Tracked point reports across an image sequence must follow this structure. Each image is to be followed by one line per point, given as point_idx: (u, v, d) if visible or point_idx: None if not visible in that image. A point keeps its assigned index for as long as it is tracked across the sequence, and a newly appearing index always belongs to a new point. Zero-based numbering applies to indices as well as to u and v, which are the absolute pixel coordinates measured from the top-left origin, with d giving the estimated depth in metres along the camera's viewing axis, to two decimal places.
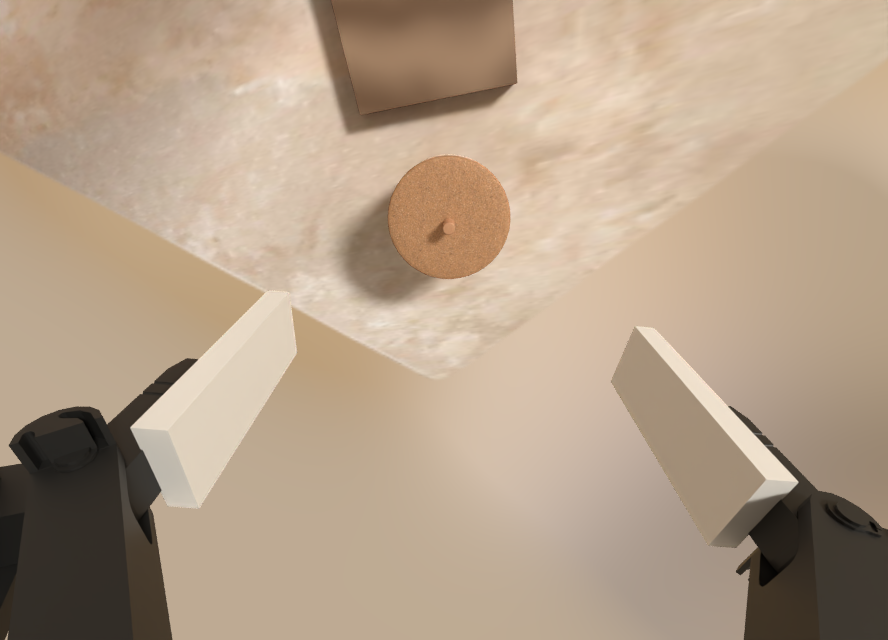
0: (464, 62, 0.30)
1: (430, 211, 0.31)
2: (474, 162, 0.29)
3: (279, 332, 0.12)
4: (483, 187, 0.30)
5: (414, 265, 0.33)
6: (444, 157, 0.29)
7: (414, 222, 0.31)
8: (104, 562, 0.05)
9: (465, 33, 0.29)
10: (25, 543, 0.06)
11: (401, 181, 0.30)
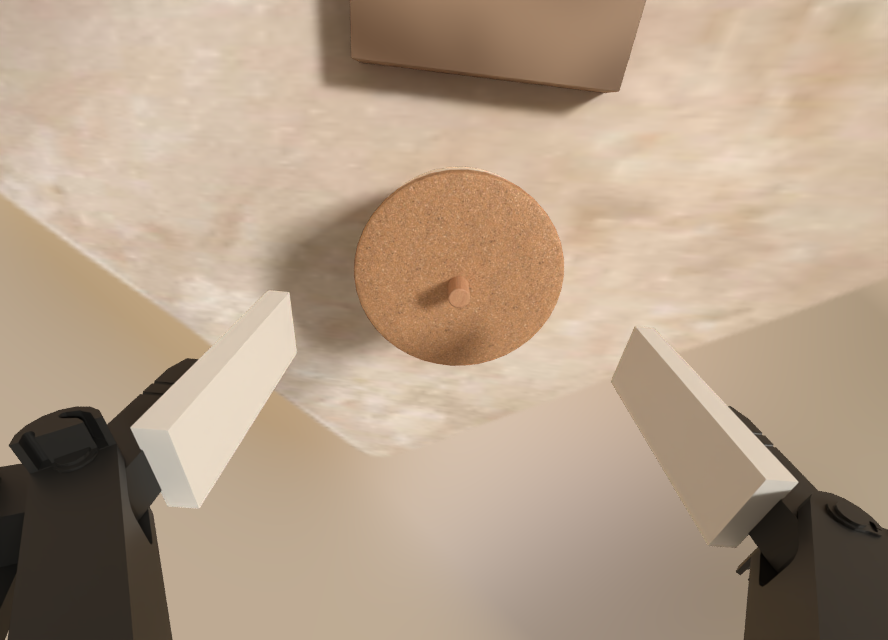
0: (550, 27, 0.18)
1: (433, 257, 0.17)
2: (532, 199, 0.16)
3: (279, 332, 0.12)
4: (533, 244, 0.17)
5: (383, 332, 0.20)
6: (484, 176, 0.16)
7: (400, 267, 0.18)
8: (103, 562, 0.05)
9: None
10: (25, 543, 0.06)
11: (397, 194, 0.16)
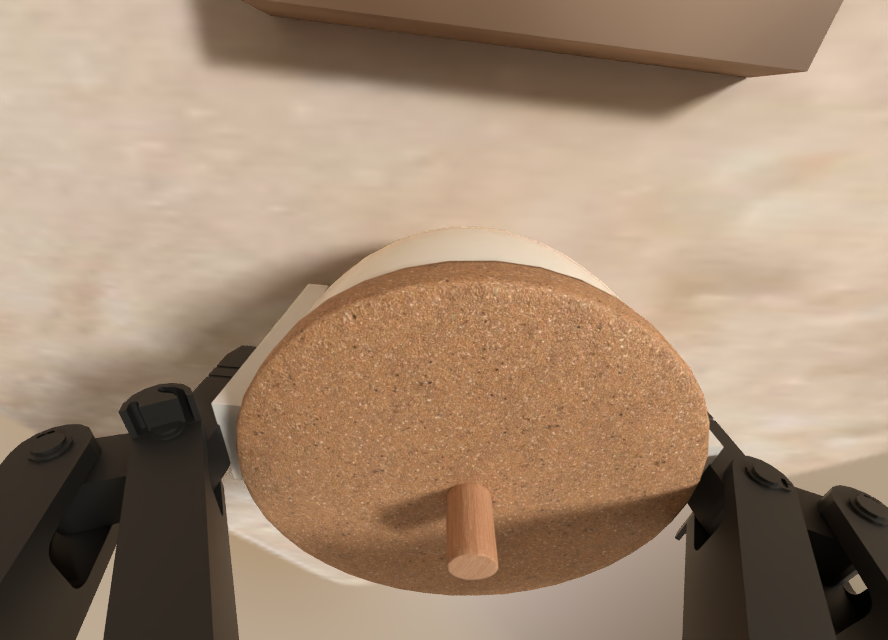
0: None
1: (412, 452, 0.08)
2: (660, 340, 0.06)
3: None
4: (649, 431, 0.07)
5: (315, 555, 0.10)
6: (543, 289, 0.06)
7: (338, 468, 0.08)
8: (188, 527, 0.06)
9: None
10: (127, 500, 0.06)
11: (313, 329, 0.06)
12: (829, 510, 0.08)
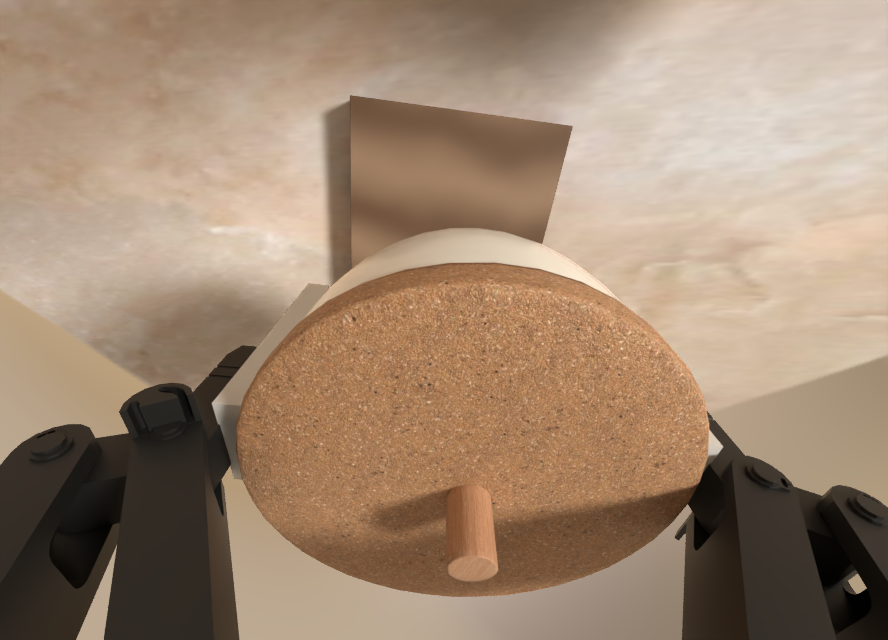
0: None
1: (412, 454, 0.08)
2: (660, 342, 0.06)
3: None
4: (649, 433, 0.07)
5: (315, 557, 0.10)
6: (543, 291, 0.06)
7: (338, 469, 0.08)
8: (189, 526, 0.06)
9: None
10: (127, 500, 0.06)
11: (312, 331, 0.06)
12: (828, 510, 0.08)
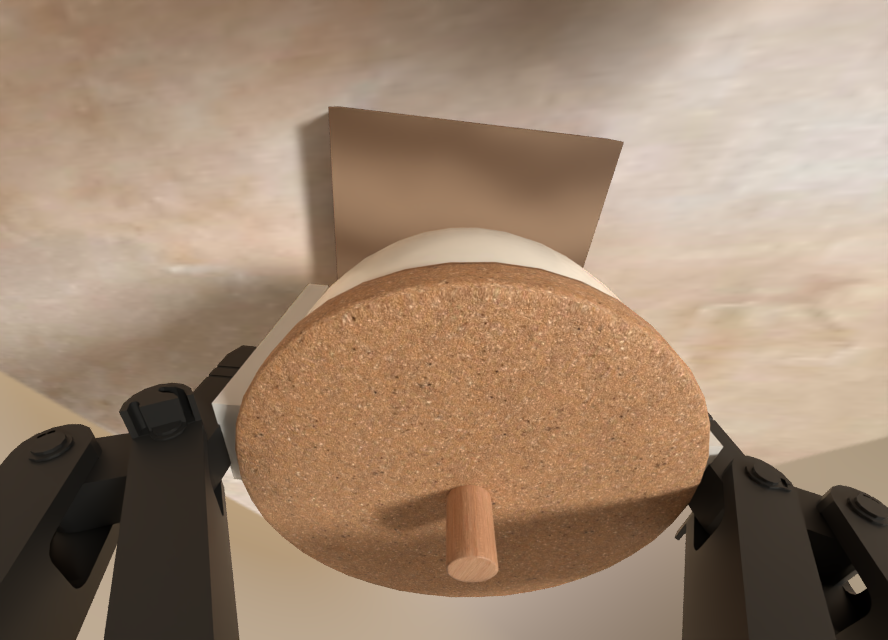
0: None
1: (411, 454, 0.08)
2: (660, 342, 0.06)
3: None
4: (649, 433, 0.07)
5: (315, 557, 0.10)
6: (543, 291, 0.06)
7: (337, 470, 0.08)
8: (189, 526, 0.06)
9: None
10: (127, 500, 0.06)
11: (312, 331, 0.06)
12: (828, 510, 0.08)
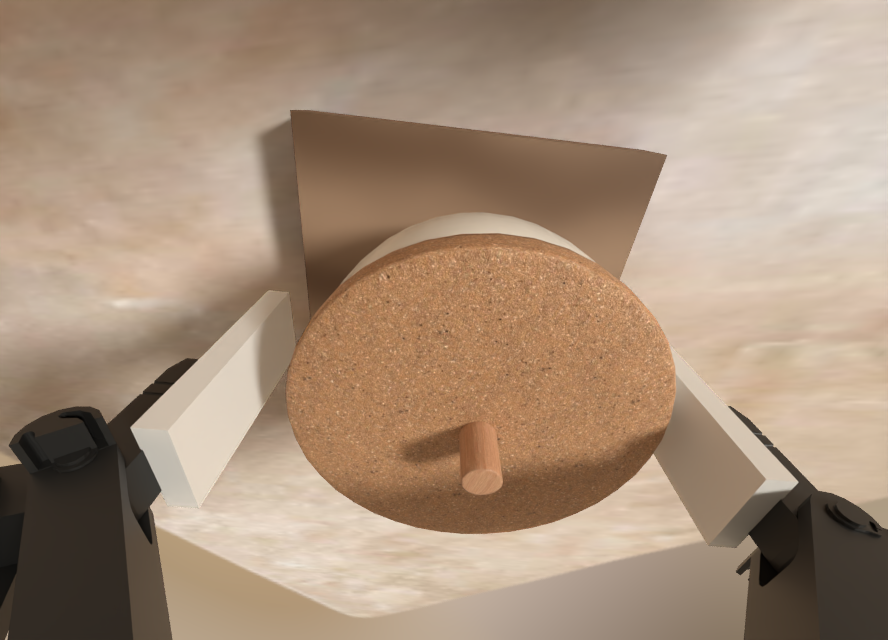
0: None
1: (431, 393, 0.09)
2: (630, 294, 0.08)
3: (279, 332, 0.12)
4: (625, 373, 0.09)
5: (346, 494, 0.12)
6: (536, 252, 0.08)
7: (370, 408, 0.10)
8: (104, 562, 0.05)
9: None
10: (25, 543, 0.06)
11: (355, 288, 0.08)
12: None
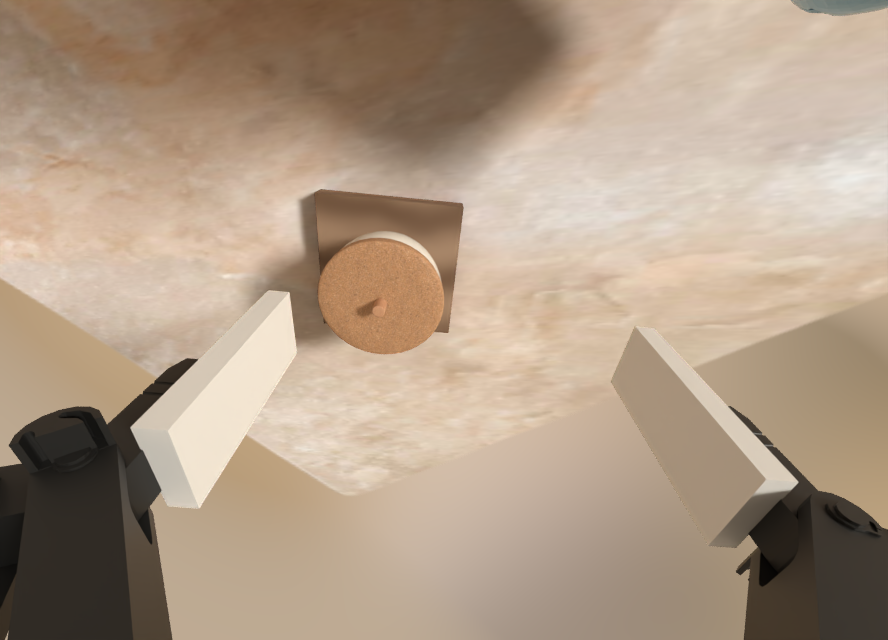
0: None
1: (364, 287, 0.30)
2: (417, 254, 0.29)
3: (279, 332, 0.12)
4: (421, 278, 0.29)
5: (338, 333, 0.32)
6: (387, 242, 0.28)
7: (345, 294, 0.30)
8: (103, 562, 0.05)
9: None
10: (25, 543, 0.06)
11: (339, 253, 0.28)
12: None
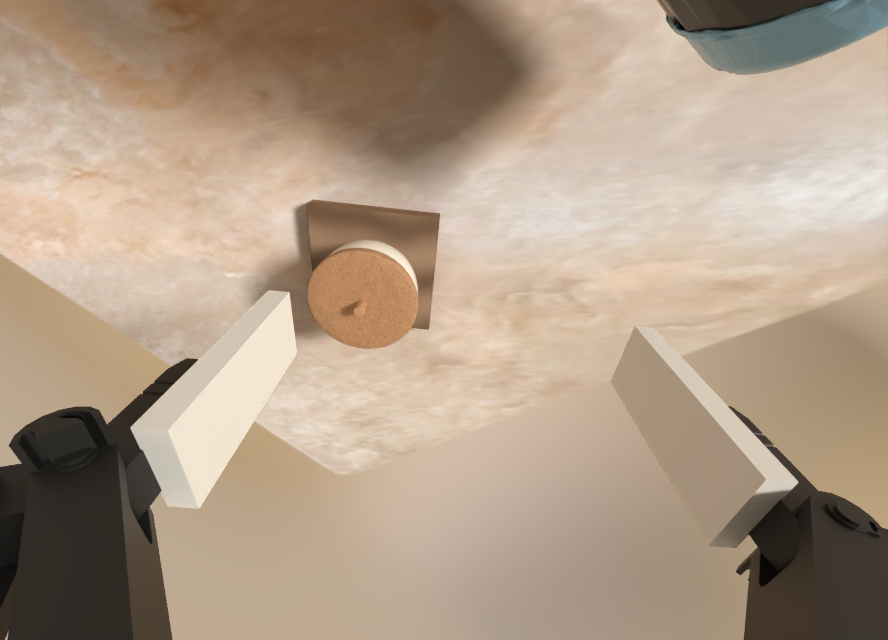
0: None
1: (346, 290, 0.34)
2: (392, 262, 0.33)
3: (279, 332, 0.12)
4: (396, 284, 0.33)
5: (325, 330, 0.36)
6: (367, 252, 0.32)
7: (330, 296, 0.34)
8: (104, 562, 0.05)
9: None
10: (25, 543, 0.06)
11: (325, 261, 0.33)
12: None
